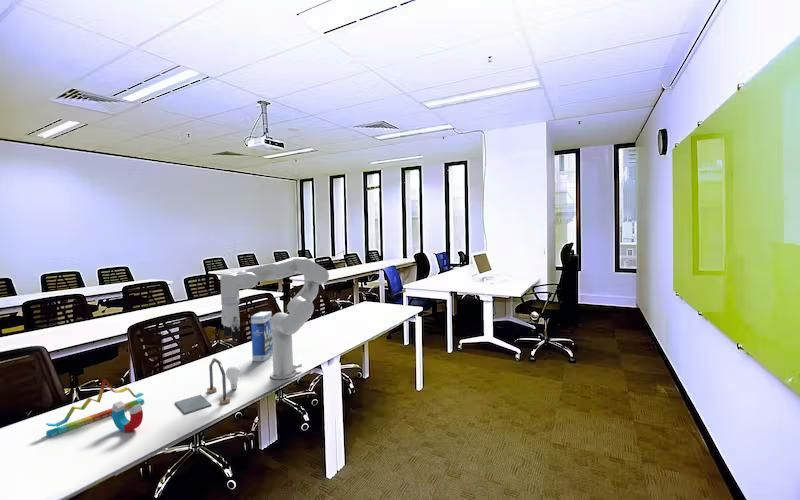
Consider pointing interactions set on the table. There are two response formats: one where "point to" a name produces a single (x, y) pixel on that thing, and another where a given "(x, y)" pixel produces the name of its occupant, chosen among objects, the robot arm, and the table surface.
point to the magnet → (122, 421)
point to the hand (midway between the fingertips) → (231, 337)
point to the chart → (93, 417)
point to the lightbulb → (233, 375)
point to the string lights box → (261, 336)
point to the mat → (192, 404)
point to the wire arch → (213, 389)
